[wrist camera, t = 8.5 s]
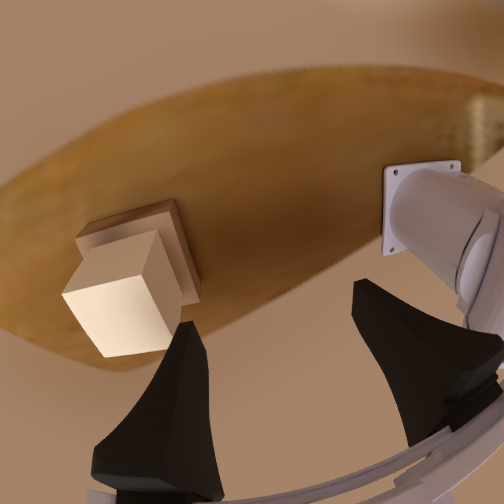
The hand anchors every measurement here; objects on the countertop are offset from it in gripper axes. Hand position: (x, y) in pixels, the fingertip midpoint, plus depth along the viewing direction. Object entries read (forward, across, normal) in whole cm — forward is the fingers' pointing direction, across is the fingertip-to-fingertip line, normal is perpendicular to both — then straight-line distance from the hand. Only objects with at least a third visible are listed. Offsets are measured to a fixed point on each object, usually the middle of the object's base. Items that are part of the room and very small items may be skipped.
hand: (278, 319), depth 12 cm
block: (+7, +8, 0) cm, 11 cm away
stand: (+9, +8, 0) cm, 12 cm away
